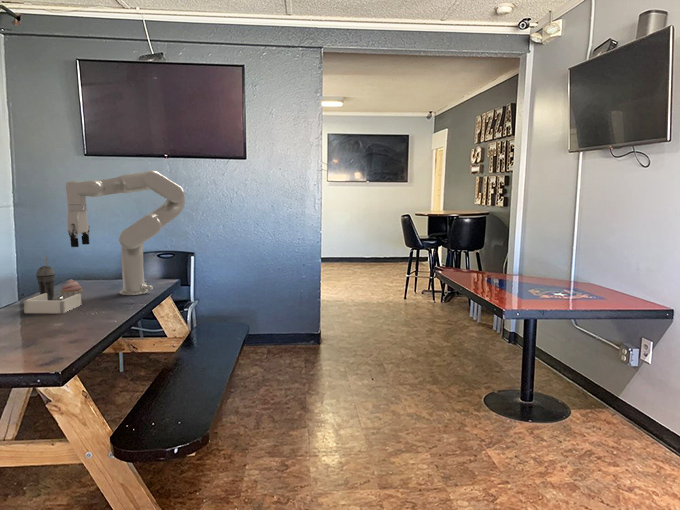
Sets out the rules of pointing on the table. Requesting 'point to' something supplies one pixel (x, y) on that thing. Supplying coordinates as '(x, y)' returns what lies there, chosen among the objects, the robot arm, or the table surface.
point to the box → (51, 304)
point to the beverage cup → (46, 280)
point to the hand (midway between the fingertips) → (80, 245)
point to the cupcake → (71, 289)
